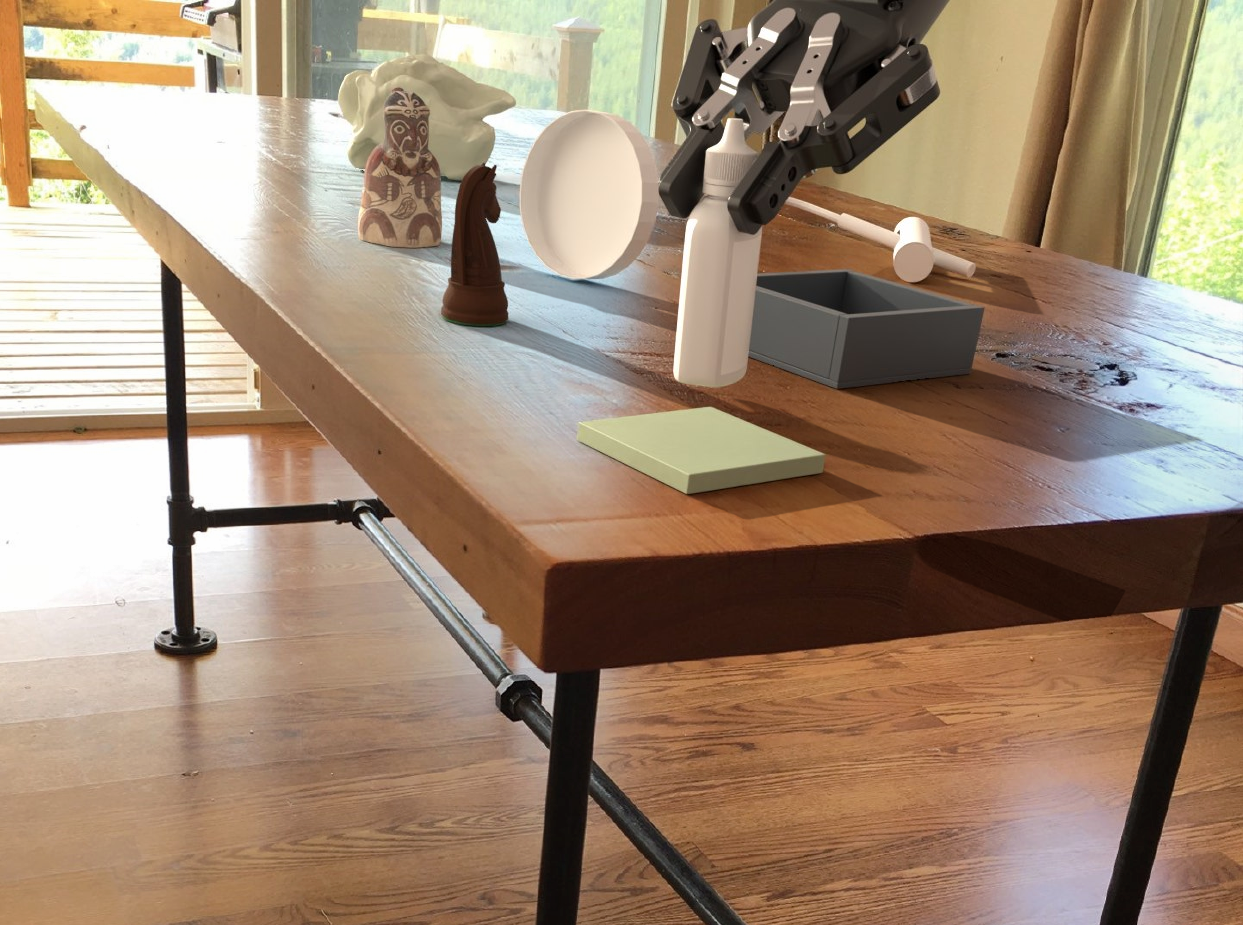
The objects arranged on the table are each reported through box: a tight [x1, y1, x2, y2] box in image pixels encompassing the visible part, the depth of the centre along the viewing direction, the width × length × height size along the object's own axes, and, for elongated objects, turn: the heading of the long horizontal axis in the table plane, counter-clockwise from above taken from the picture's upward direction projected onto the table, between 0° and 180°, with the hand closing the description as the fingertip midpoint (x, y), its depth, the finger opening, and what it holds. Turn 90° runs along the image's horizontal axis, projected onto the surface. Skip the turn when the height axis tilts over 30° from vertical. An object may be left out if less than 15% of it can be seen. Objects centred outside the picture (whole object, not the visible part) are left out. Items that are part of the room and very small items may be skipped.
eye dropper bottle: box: [672, 117, 763, 388], centre depth 68 cm, size 4×6×12 cm
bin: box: [748, 268, 986, 390], centre depth 95 cm, size 13×13×4 cm
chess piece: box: [440, 163, 509, 327], centre depth 95 cm, size 5×5×10 cm
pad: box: [576, 406, 826, 495], centre depth 72 cm, size 9×9×1 cm
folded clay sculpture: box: [337, 53, 517, 181], centre depth 159 cm, size 18×13×16 cm
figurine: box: [357, 87, 443, 249], centre depth 119 cm, size 7×7×12 cm
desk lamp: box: [519, 109, 977, 283], centre depth 123 cm, size 12×22×45 cm
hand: (705, 212), depth 66 cm, fingers closed on eye dropper bottle, 3 cm apart
